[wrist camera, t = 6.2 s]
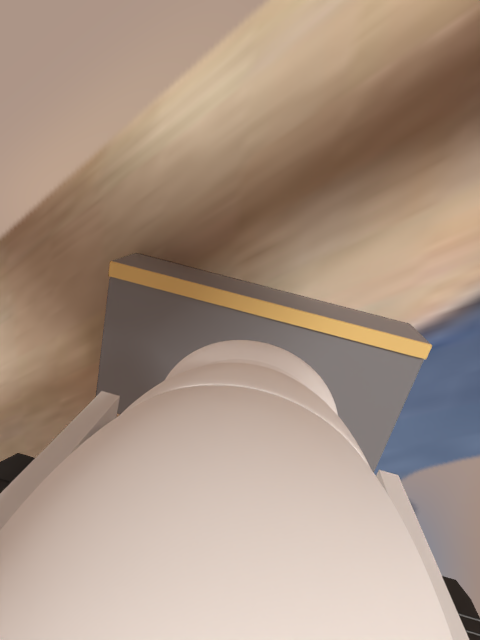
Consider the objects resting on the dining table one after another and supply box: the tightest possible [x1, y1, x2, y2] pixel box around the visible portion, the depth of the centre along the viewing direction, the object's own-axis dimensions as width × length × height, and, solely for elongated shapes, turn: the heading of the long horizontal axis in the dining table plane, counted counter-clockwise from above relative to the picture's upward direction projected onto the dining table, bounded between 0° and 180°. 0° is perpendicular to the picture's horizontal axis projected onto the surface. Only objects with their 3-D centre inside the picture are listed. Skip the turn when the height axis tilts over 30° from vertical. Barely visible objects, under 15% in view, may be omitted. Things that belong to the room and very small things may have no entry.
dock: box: [96, 253, 432, 473], centre depth 33 cm, size 26×14×5 cm, turn 77°
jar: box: [0, 340, 453, 640], centre depth 10 cm, size 11×10×15 cm
